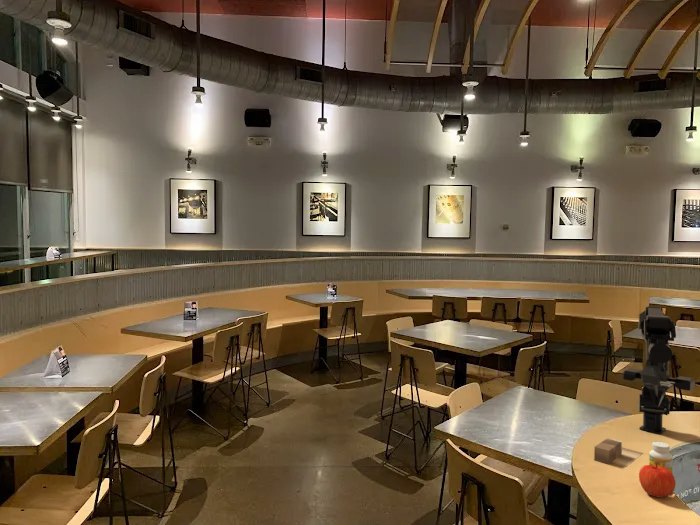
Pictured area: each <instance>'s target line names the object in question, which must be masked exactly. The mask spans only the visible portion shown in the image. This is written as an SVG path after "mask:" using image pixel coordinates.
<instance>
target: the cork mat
mask: <svg viewBox="0 0 700 525" xmlns="http://www.w3.org/2000/svg"><path fill="white" fill-rule="evenodd" d="M643 454H644V452H641V451H637V450H635V449H634V450H633V449H630V448H627V447H623V446H622V455H621V456H619V457H618V458H617V459H615V460H614V461H612V462H611V463H612V464H614V465H615V464H616V465H618V466H623V467H628V466H629V465H630V464H632V463H633V462H634V461H635V460H637V459H638V458H639V457H640V456H642V455H643Z"/></svg>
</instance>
